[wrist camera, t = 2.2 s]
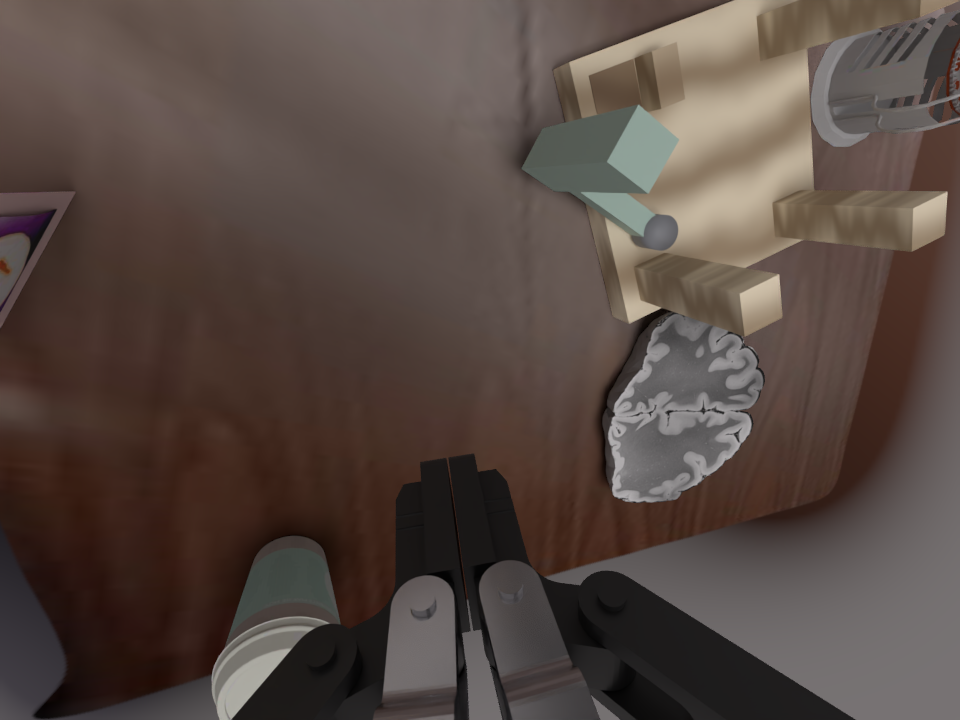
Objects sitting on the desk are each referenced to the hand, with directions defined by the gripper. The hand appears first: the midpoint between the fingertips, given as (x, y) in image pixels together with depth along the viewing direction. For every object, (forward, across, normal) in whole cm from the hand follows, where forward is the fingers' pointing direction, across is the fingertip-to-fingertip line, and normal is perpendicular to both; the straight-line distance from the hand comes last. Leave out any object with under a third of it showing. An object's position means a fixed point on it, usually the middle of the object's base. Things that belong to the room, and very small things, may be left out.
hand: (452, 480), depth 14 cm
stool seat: (+31, +23, +2) cm, 39 cm away
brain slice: (+28, +22, -20) cm, 41 cm away
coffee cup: (+20, -15, -25) cm, 35 cm away
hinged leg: (+26, +14, +1) cm, 29 cm away
